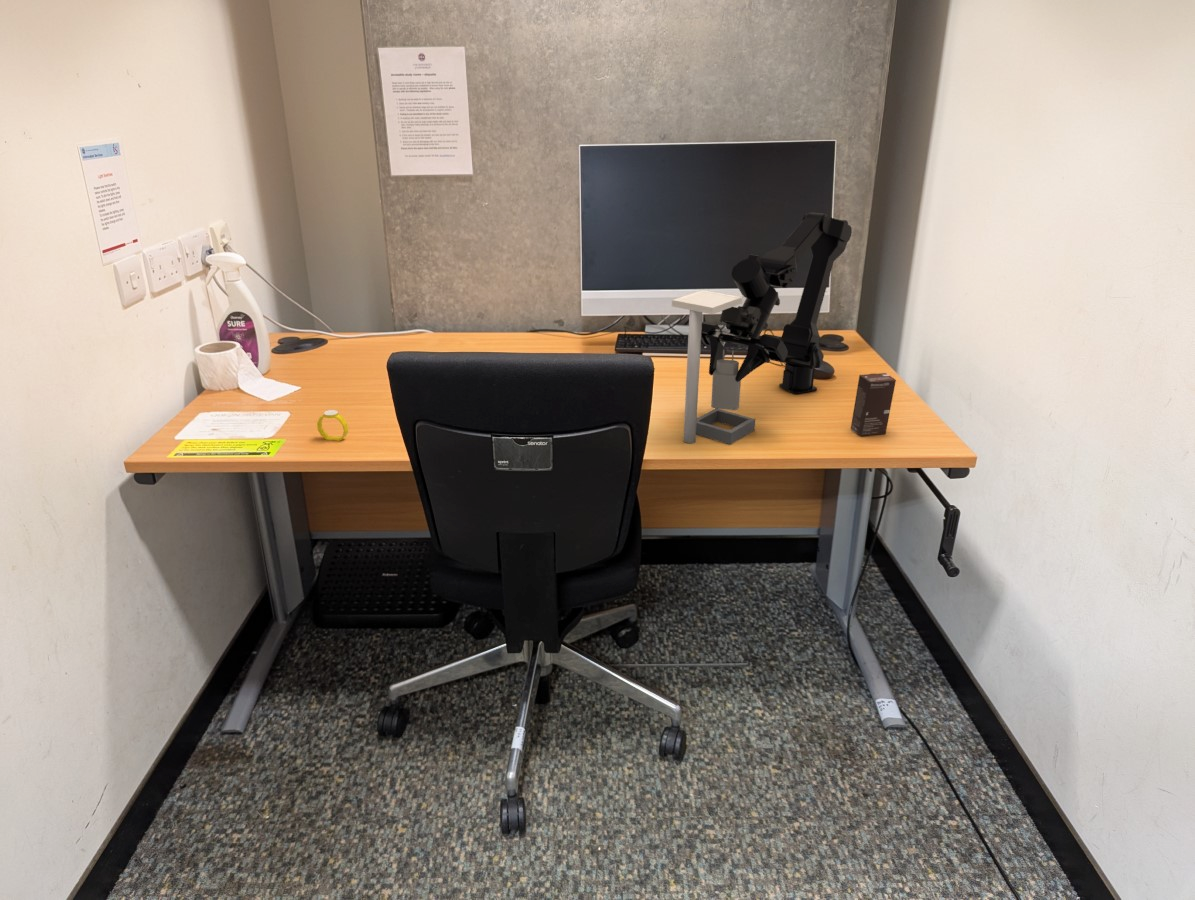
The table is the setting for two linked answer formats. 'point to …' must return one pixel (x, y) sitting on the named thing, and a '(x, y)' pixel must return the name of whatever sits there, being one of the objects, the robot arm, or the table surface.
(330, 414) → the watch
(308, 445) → the table surface
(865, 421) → the box
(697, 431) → the tall pedestal stand
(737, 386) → the power adapter
